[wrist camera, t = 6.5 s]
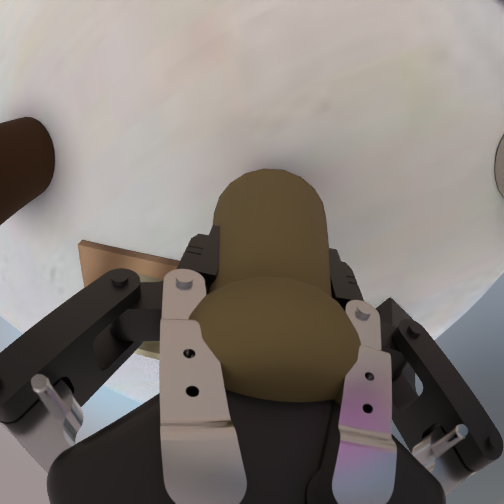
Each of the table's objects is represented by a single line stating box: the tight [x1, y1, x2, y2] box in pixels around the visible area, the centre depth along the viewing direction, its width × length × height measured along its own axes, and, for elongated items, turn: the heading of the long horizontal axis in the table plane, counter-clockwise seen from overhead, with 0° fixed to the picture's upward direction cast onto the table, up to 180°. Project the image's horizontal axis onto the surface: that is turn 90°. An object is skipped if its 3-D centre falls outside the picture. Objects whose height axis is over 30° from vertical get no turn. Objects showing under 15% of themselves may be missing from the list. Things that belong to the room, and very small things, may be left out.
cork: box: [189, 169, 361, 402], centre depth 11 cm, size 6×6×11 cm
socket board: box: [78, 240, 180, 360], centre depth 31 cm, size 20×14×4 cm
